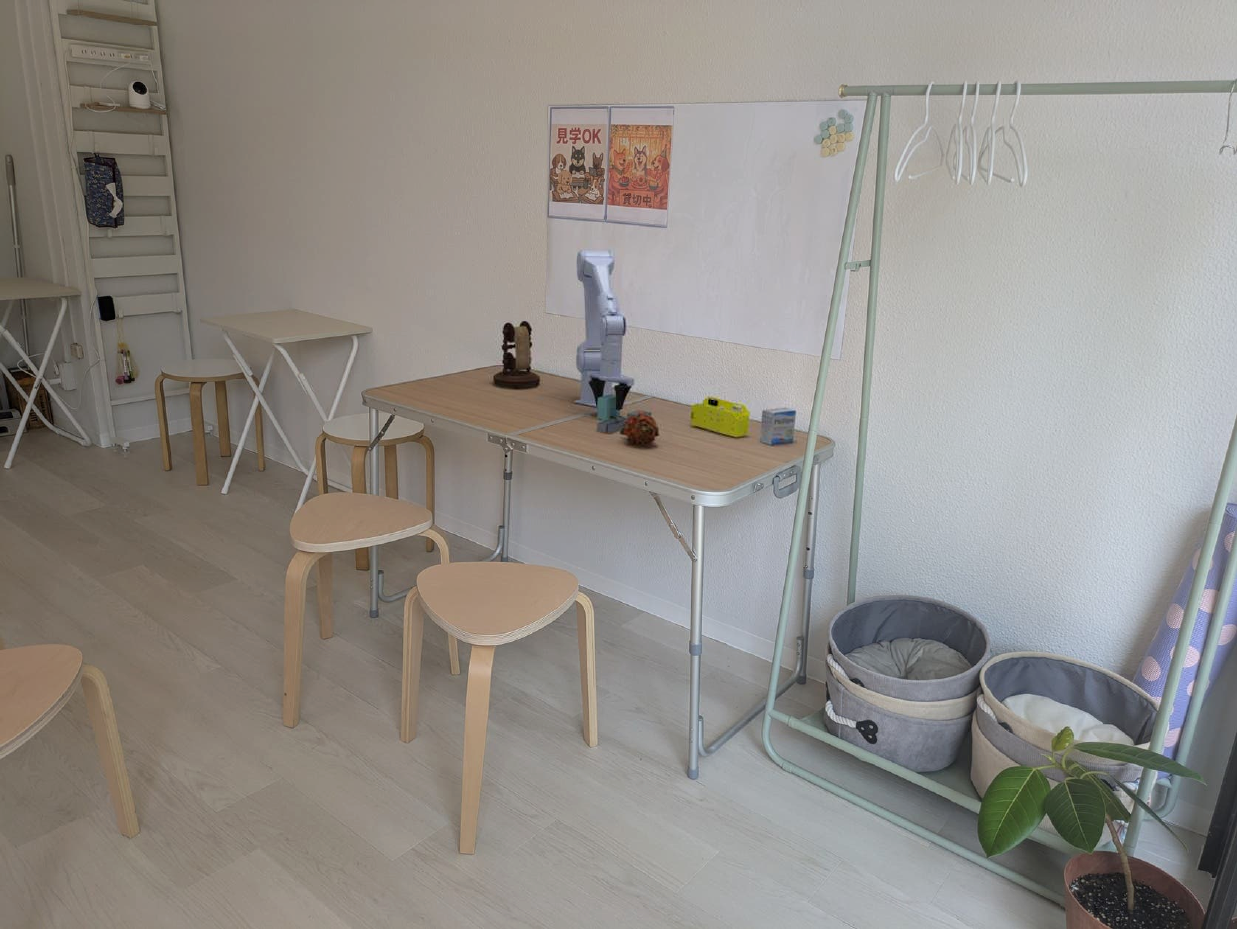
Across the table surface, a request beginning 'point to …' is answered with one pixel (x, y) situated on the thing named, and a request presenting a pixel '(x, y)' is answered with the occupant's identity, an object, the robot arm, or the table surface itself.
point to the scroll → (517, 357)
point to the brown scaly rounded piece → (640, 429)
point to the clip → (607, 407)
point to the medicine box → (777, 426)
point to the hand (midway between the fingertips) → (609, 407)
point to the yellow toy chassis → (721, 416)
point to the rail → (617, 422)
